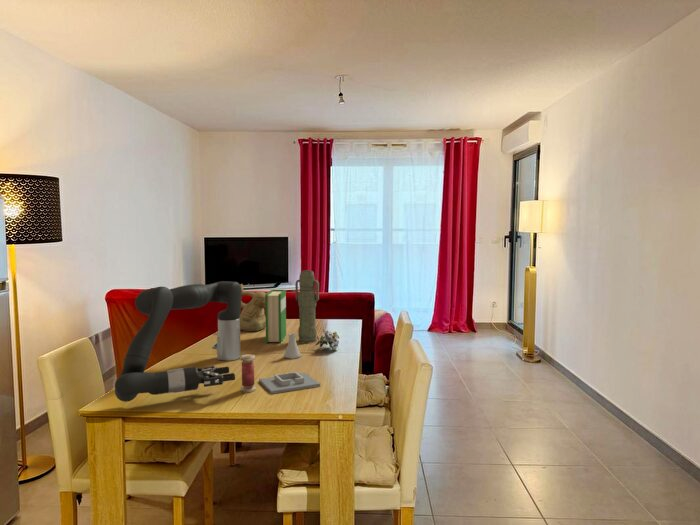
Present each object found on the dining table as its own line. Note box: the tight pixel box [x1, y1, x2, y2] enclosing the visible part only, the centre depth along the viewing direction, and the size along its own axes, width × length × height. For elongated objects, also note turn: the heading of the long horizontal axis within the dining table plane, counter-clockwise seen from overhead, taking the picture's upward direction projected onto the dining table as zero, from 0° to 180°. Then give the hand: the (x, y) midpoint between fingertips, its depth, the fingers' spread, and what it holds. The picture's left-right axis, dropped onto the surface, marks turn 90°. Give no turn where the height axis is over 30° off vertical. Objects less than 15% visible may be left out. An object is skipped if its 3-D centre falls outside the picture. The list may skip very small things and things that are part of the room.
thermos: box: [294, 269, 320, 344], centre depth 244 cm, size 9×12×35 cm
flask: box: [283, 333, 302, 359], centre depth 215 cm, size 7×7×10 cm
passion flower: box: [315, 328, 340, 352], centre depth 227 cm, size 11×11×12 cm
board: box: [258, 371, 321, 395], centre depth 178 cm, size 18×15×3 cm
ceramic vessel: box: [239, 283, 267, 332], centre depth 273 cm, size 17×20×25 cm
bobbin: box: [239, 354, 257, 394], centre depth 171 cm, size 5×5×12 cm
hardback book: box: [264, 289, 287, 344], centre depth 248 cm, size 18×7×24 cm, turn 179°
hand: (231, 372), depth 169 cm, fingers open, 8 cm apart
